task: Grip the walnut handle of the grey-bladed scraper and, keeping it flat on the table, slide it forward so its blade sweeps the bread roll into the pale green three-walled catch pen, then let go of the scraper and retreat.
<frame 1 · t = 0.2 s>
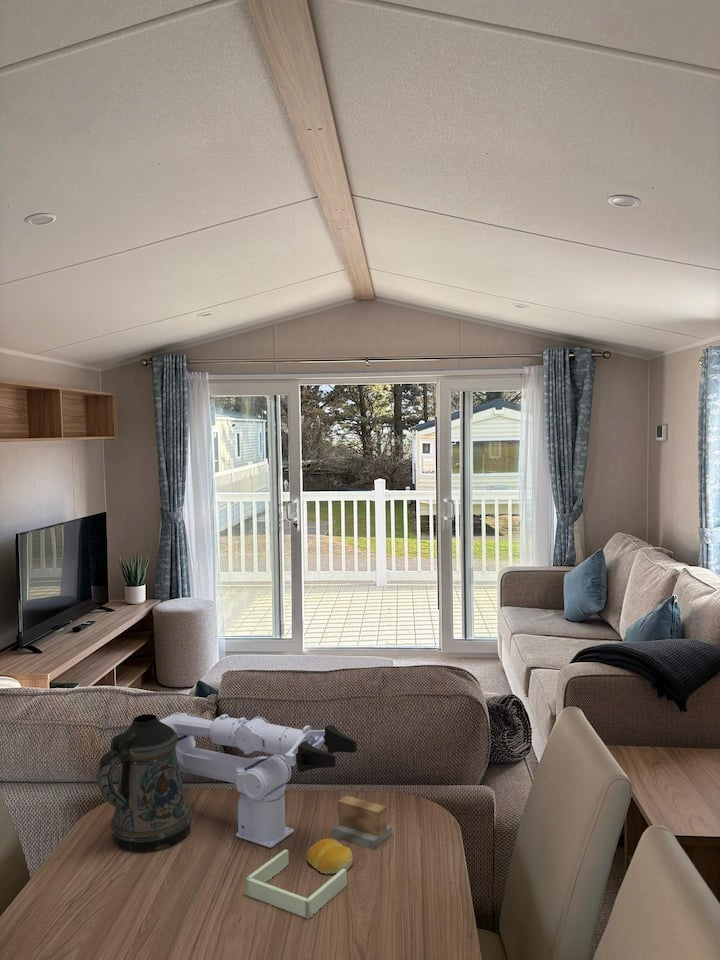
hand: (345, 753, 156), 21 cm above the table, tool horizontal, fingers open, 7 cm apart
catch pen: (296, 889, 148), on the table
bread roll: (330, 864, 157), on the table
scraper: (362, 836, 167), on the table
beer stein: (149, 837, 168), on the table
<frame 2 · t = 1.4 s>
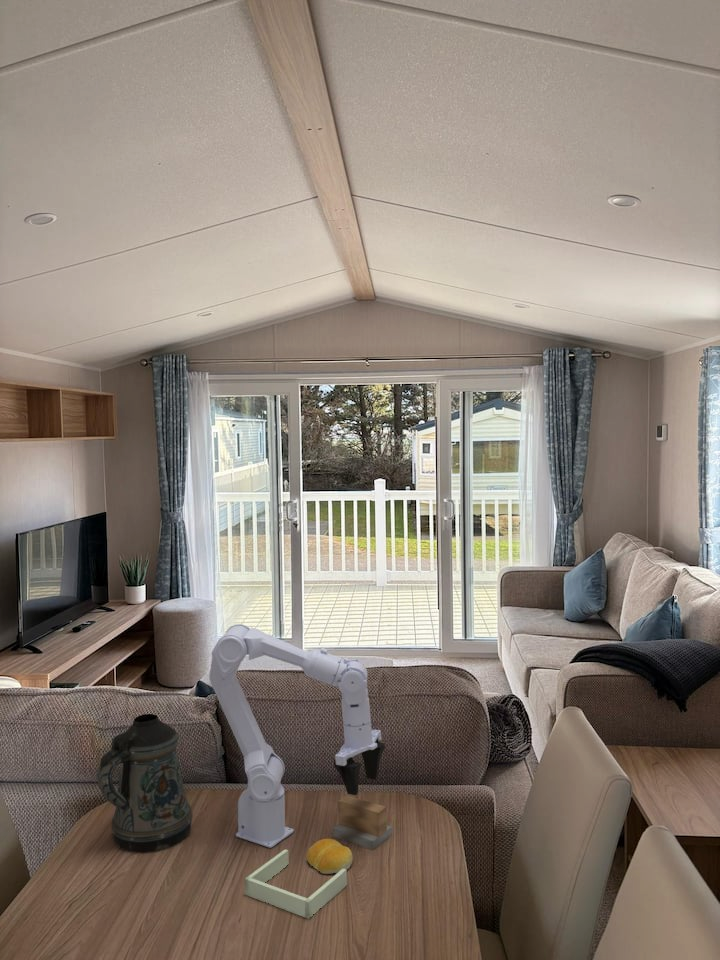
hand: (362, 786, 166), 11 cm above the table, tool pointing down, fingers open, 7 cm apart
nothing on the table moved.
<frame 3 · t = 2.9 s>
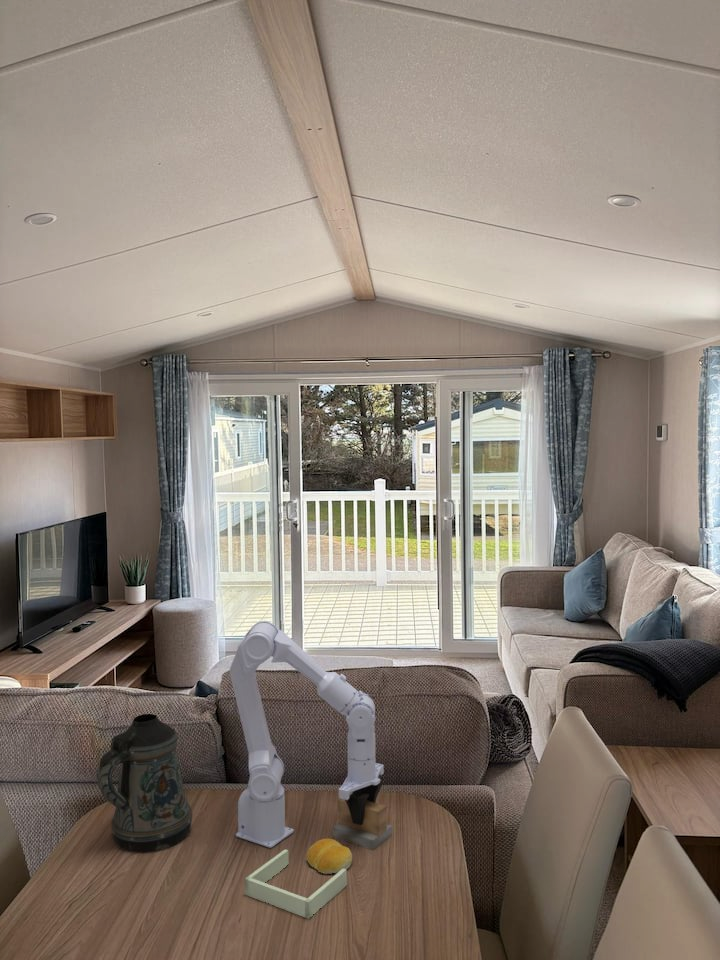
hand: (362, 819, 167), 3 cm above the table, tool pointing down, fingers closed on scraper, 3 cm apart
scraper: (362, 835, 167), on the table, touching gripper
everything else where it was.
when the fingers open (3 cm above the table, at t = 4.7 s): scraper moves 6 cm, on the table.
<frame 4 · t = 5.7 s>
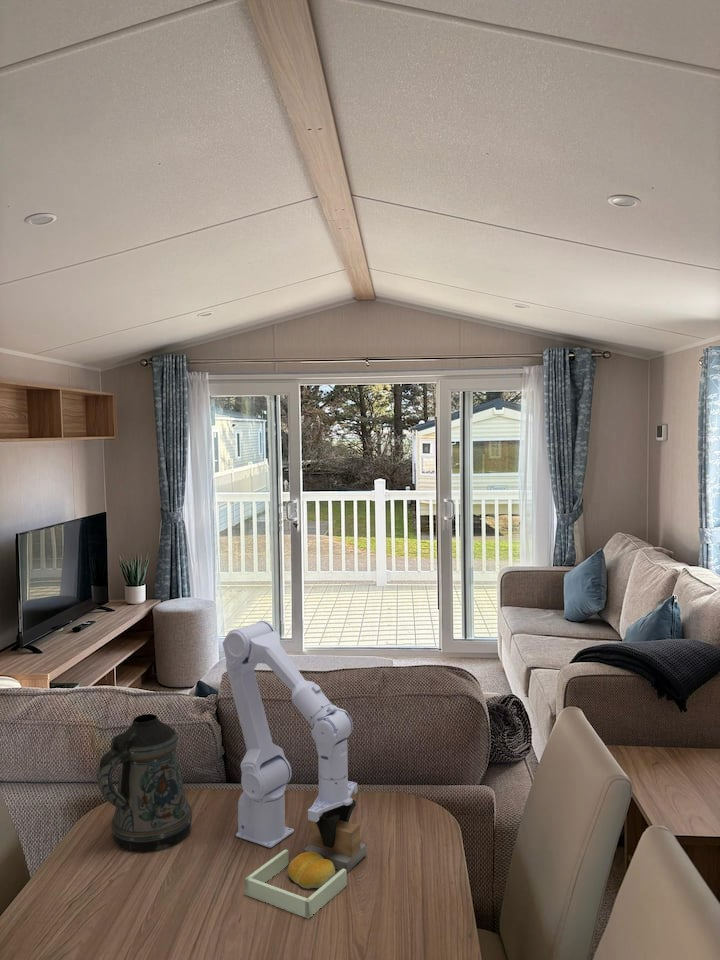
hand: (334, 841, 158), 3 cm above the table, tool pointing down, fingers open, 3 cm apart
bread roll: (311, 878, 152), on the table
scraper: (335, 856, 159), on the table, touching gripper
everything else where it was.
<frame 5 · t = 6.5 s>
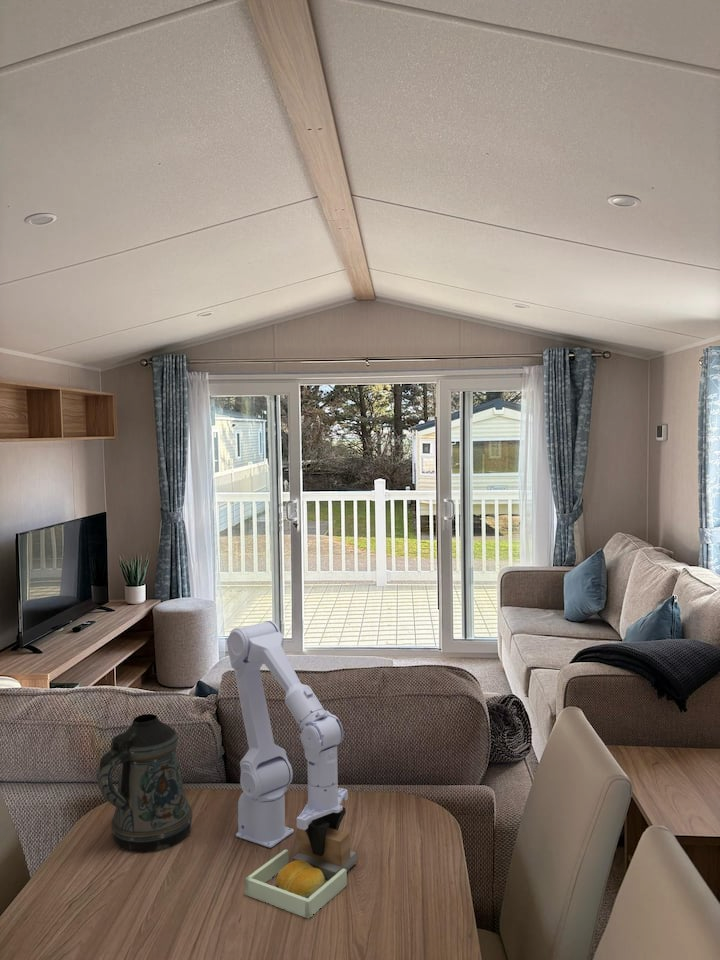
hand: (323, 849, 155), 3 cm above the table, tool pointing down, fingers closed on scraper, 3 cm apart
bread roll: (300, 888, 149), on the table, touching scraper
scraper: (325, 864, 156), on the table, tilted 5°, touching bread roll, gripper
everything else where it was.
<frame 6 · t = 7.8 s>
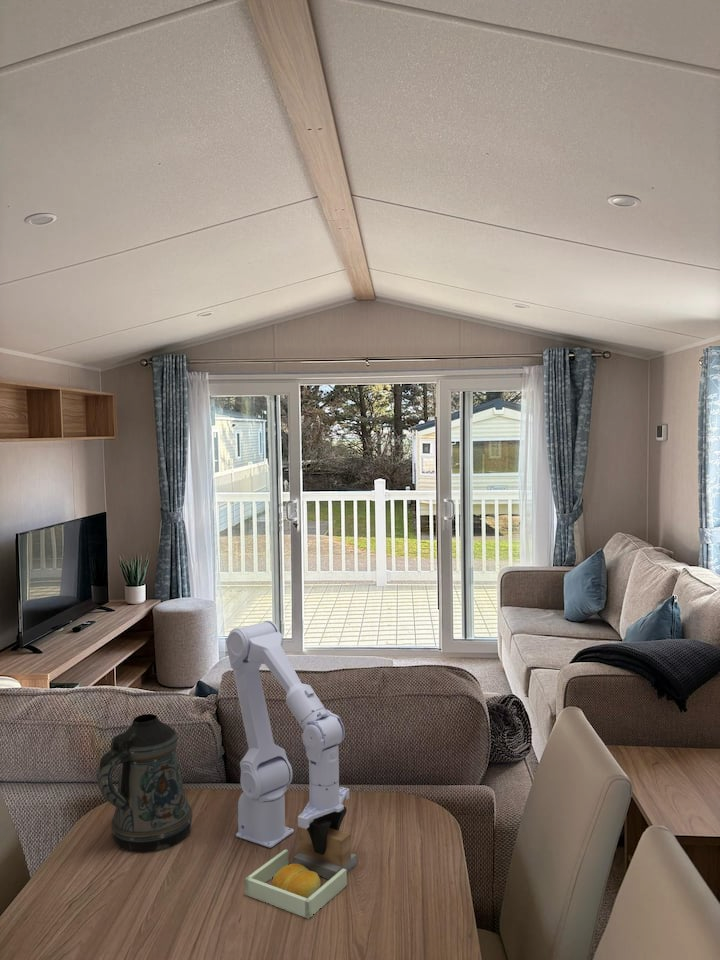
hand: (325, 848, 156), 3 cm above the table, tool pointing down, fingers closed on scraper, 3 cm apart
bread roll: (296, 891, 148), on the table
scraper: (325, 865, 156), on the table, touching gripper
everything else where it was.
when the fingers open (3 cm above the table, at t = 8.7 s): scraper stays where it is, on the table.
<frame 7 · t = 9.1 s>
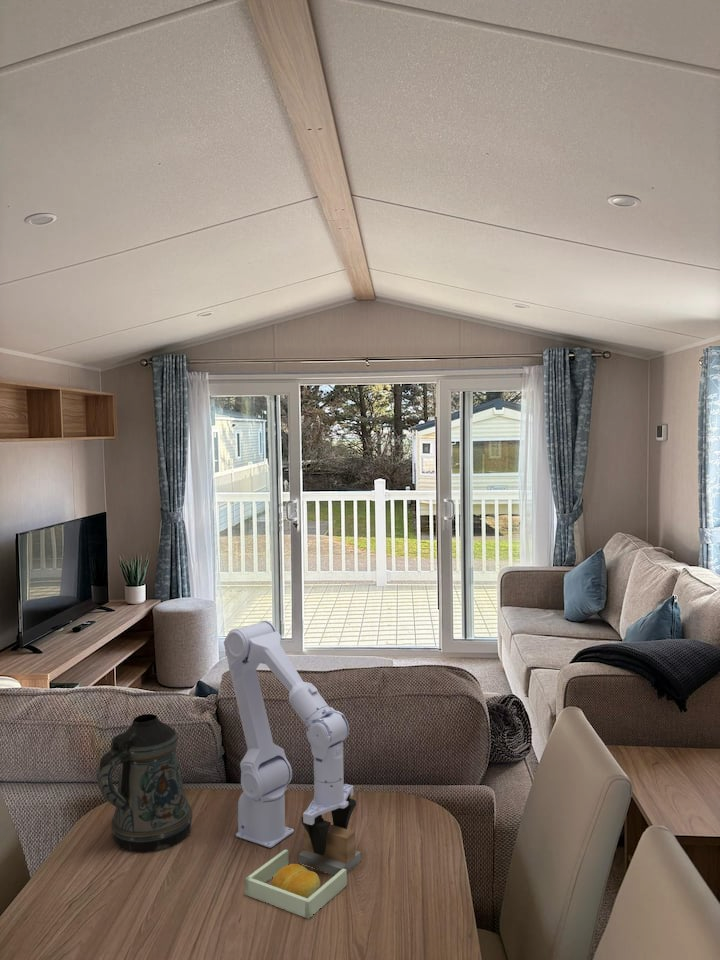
hand: (329, 844, 157), 4 cm above the table, tool pointing down, fingers open, 7 cm apart
scraper: (329, 863, 157), on the table
everything else where it was.
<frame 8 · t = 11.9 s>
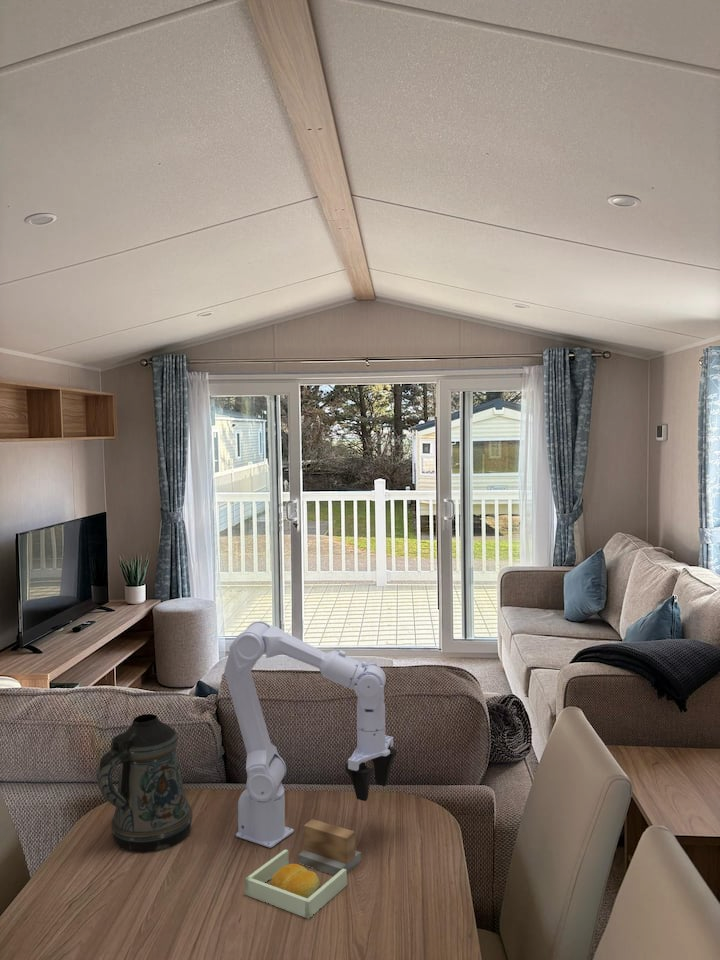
hand: (371, 791, 164), 10 cm above the table, tool pointing down, fingers open, 7 cm apart
nothing on the table moved.
at the end: bread roll inside the target area (0.5 cm from its centre), on the table; the gripper is holding nothing; scraper on the table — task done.
